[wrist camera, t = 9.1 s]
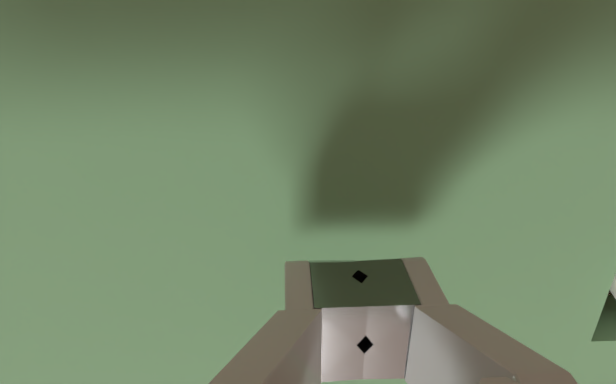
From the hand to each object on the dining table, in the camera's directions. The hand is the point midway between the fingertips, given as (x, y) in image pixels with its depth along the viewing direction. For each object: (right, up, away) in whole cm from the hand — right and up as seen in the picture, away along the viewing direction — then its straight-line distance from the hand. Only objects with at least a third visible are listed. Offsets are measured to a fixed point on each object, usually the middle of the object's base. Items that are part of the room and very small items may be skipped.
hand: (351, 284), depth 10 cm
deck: (+2, +1, +3) cm, 4 cm away
